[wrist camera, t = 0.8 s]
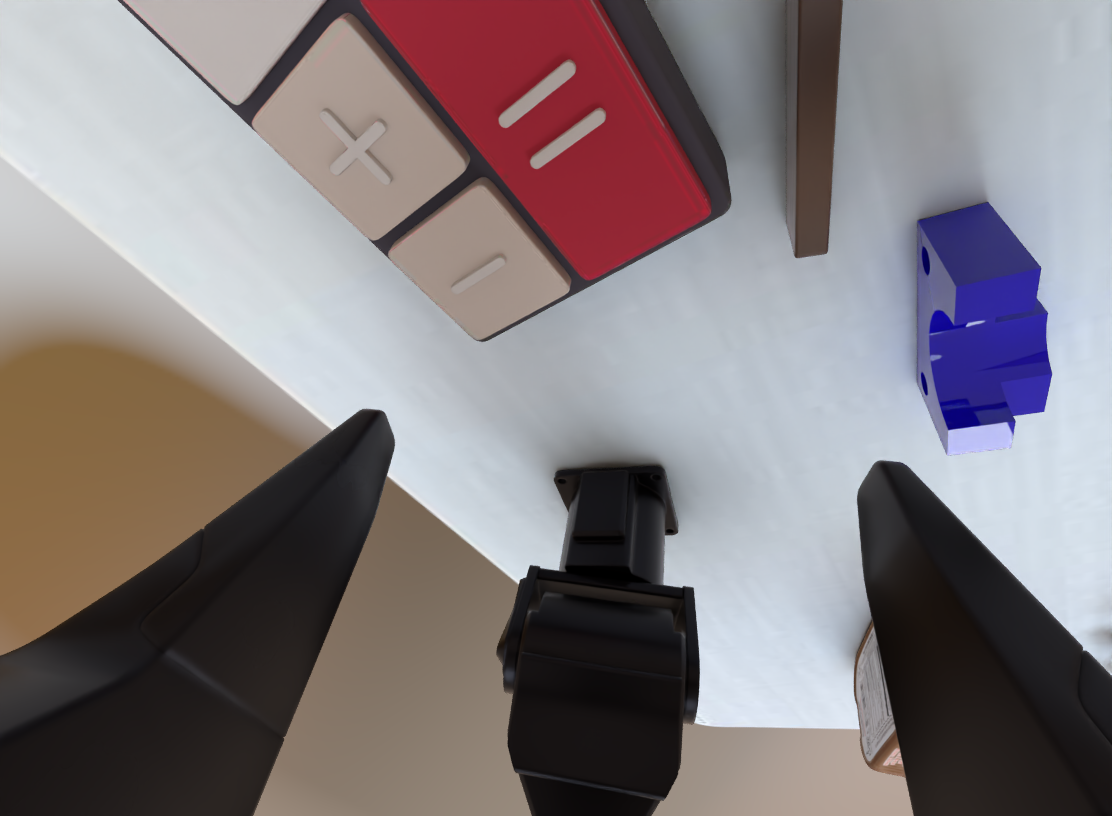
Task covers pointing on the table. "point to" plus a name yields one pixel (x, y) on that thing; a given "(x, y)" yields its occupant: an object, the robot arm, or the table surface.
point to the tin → (875, 710)
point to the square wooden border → (811, 120)
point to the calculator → (470, 133)
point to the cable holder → (978, 329)
